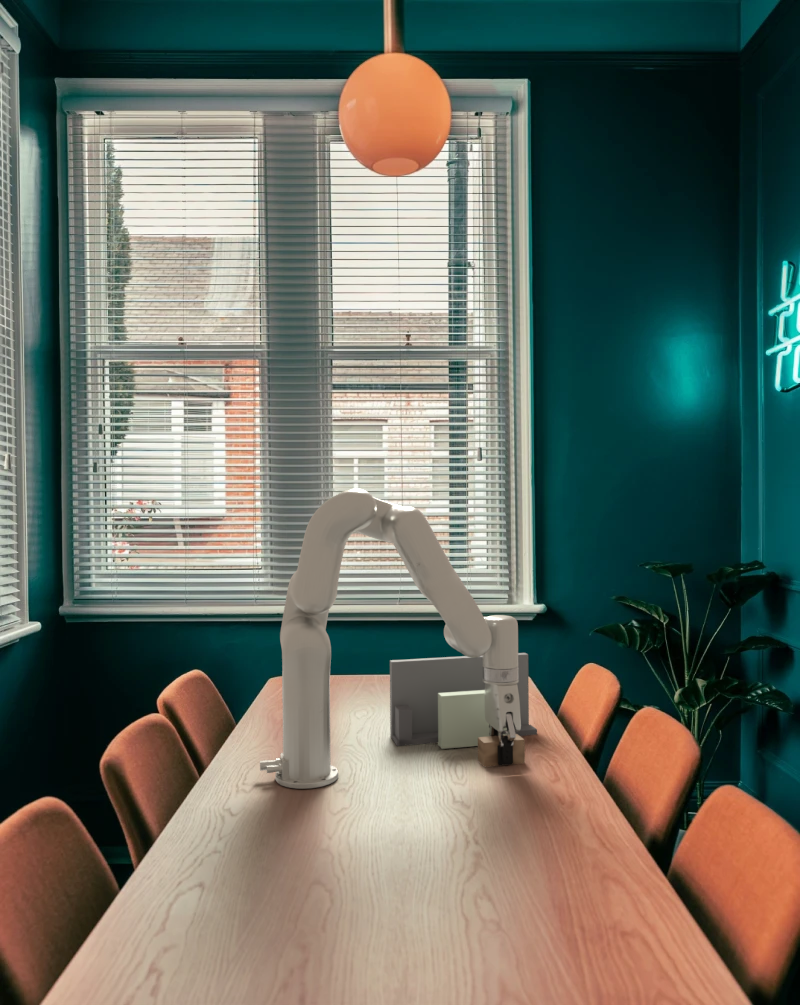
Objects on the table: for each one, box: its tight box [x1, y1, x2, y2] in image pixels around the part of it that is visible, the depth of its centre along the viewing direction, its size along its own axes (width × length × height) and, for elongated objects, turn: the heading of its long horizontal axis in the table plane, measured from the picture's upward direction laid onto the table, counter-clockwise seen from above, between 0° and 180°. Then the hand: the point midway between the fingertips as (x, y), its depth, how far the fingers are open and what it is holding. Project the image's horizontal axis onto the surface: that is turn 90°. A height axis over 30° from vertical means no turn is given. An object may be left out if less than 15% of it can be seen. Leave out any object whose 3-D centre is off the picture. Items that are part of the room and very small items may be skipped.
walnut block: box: [477, 734, 526, 768], centre depth 163 cm, size 9×4×5 cm, turn 103°
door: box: [437, 690, 507, 750], centre depth 174 cm, size 16×3×12 cm, turn 103°
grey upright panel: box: [389, 652, 538, 747], centre depth 182 cm, size 34×7×18 cm, turn 103°
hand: (501, 759), depth 163 cm, fingers closed on walnut block, 4 cm apart
